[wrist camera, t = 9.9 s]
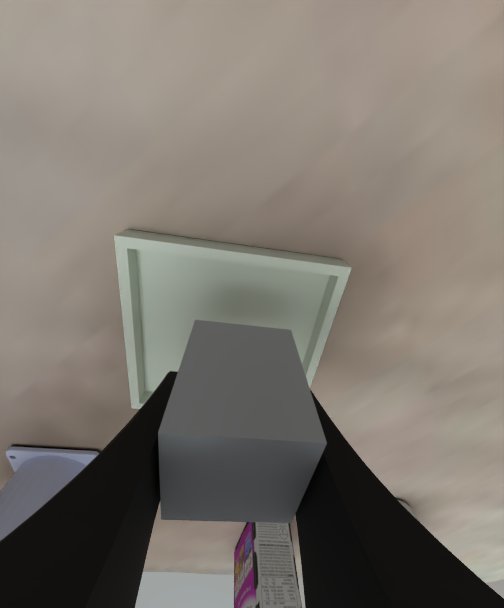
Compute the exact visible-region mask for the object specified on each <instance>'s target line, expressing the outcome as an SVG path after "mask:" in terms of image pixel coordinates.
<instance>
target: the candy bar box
mask: <svg viewBox="0 0 504 608" xmlns="http://www.w3.org/2000/svg"><path fill="white" fill-rule="evenodd" d="M234 608H302V604H301V598H300V592H299V585H298V578H297V571H296V564H295V558H294V550H293V544H292V537H291V530H290V523H268V522H247V525H246V527H245V529H244V532H243V534H242V536H241V538H240V540H239V543H238V545H237V547H236V549H235V552H234Z"/></svg>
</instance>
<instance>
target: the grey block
mask: <svg viewBox="0 0 504 608" xmlns="http://www.w3.org/2000/svg"><path fill="white" fill-rule="evenodd" d="M326 444H327V442H326V439H325V436H324V432H323V429H322V426H321V423H320V420H319V417H318V413H317V410H316V407H315V404H314V401H313V398H312V395H311V391H310V388H309V385H308V382H307V379H306V376H305V372H304V369H303V366H302V363H301V360H300V357H299V354H298V350H297V347H296V344H295V341H294V338H293V335H292V332H291V330H287V329H278V328H269V327H259V326H250V325H241V324H231V323H222V322H213V321H203V320H195V321H194V325H193V328H192V331H191V334H190V337H189V340H188V343H187V346H186V349H185V352H184V355H183V358H182V361H181V364H180V367H179V370H178V373H177V376H176V379H175V383H174V386H173V389H172V392H171V395H170V398H169V401H168V404H167V407H166V410H165V413H164V416H163V419H162V422H161V425H160V428H159V431H158V446H159V474H160V502H161V519H163V520H198V521H233V522H268V523H291V522H292V520H293V518H294V516H295V513H296V511H297V509H298V507H299V504H300V502H301V500H302V498H303V496H304V493H305V491H306V489H307V487H308V484H309V482H310V480H311V478H312V475H313V473H314V471H315V469H316V467H317V464H318V462H319V460H320V458H321V455H322V453H323V451H324V449H325V447H326Z"/></svg>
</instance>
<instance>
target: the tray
mask: <svg viewBox="0 0 504 608" xmlns="http://www.w3.org/2000/svg"><path fill="white" fill-rule="evenodd" d="M114 239H115V249H116V259H117V269H118V279H119V288H120V298H121V308H122V318H123V328H124V338H125V348H126V357H127V367H128V377H129V387H130V397H131V407H132V409H140V408H141V407H142V406H143V405H144V404H145V403H146V401H147V400H148V399H149V398H150V396H151V395H152V394H153V392H154V391H155V390H156V389H157V387H158V386H159V384H160V383H161V382H162V380H163V379H164V377H165V376H166V374H167V373H168V372H170V371H176V372H178V370H179V367H180V364H181V361H182V358H183V355H184V352H185V349H186V346H187V343H188V340H189V337H190V334H191V331H192V328H193V325H194V321H195V320H203V321H213V322H222V323H231V324H241V325H250V326H259V327H269V328H278V329H287V330H291V332H292V335H293V338H294V341H295V344H296V347H297V350H298V354H299V357H300V360H301V363H302V366H303V369H304V372H305V376H306V379H307V382H308V385H309V388H310V387H311V384H312V381H313V378H314V375H315V372H316V369H317V366H318V364H319V361H320V358H321V355H322V352H323V349H324V346H325V343H326V341H327V338H328V335H329V332H330V329H331V326H332V323H333V320H334V318H335V315H336V312H337V309H338V306H339V303H340V300H341V297H342V295H343V292H344V289H345V286H346V283H347V280H348V277H349V274H350V271H351V269H352V268H351V267H350V266H349V265H348V264H347V263H345V262H344V261H343V260H342V259H338V258H331V257H323V256H316V255H309V254H302V253H295V252H288V251H281V250H273V249H266V248H259V247H252V246H245V245H238V244H231V243H224V242H216V241H209V240H202V239H195V238H188V237H181V236H174V235H166V234H159V233H152V232H145V231H138V230H131V229H127V230H124V231H122V232H120V233H118V234H116V235H114Z"/></svg>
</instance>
